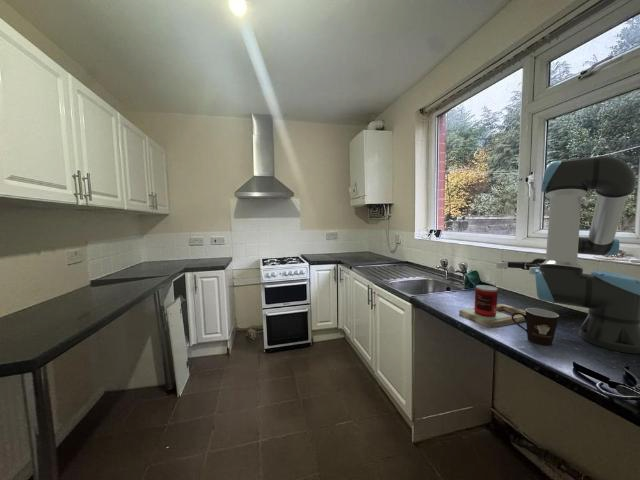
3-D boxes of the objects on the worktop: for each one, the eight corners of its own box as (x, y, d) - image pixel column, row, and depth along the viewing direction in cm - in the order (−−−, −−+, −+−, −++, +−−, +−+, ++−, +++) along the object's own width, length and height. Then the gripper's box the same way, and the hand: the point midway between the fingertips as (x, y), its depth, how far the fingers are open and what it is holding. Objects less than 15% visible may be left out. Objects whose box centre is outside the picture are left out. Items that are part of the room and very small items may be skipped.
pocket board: (535, 318, 109) (536, 313, 108) (490, 327, 100) (490, 322, 100) (502, 307, 122) (502, 303, 121) (459, 314, 113) (459, 309, 113)
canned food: (489, 310, 112) (491, 285, 111) (500, 317, 104) (502, 290, 103) (470, 309, 113) (472, 284, 112) (479, 316, 105) (481, 289, 104)
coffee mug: (560, 342, 88) (562, 313, 87) (551, 350, 83) (554, 319, 82) (518, 330, 97) (520, 304, 96) (509, 336, 93) (510, 308, 92)
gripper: (578, 280, 109) (545, 283, 101) (515, 269, 132) (484, 271, 124) (580, 262, 108) (547, 263, 101) (516, 254, 131) (485, 255, 124)
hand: (512, 268), depth 113 cm, fingers open, 13 cm apart
